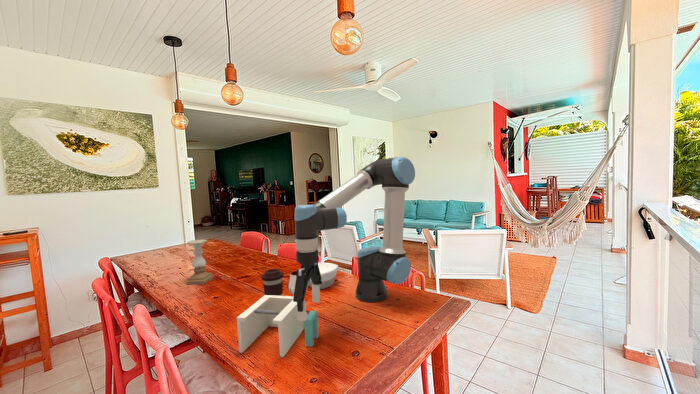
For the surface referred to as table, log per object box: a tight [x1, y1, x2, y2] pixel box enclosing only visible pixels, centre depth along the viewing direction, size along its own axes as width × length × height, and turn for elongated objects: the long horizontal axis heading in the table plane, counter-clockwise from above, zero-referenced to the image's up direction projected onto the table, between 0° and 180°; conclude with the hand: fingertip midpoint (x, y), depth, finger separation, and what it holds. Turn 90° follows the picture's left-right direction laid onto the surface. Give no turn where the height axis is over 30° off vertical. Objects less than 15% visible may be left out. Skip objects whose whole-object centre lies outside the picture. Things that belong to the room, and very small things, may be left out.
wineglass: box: [287, 270, 309, 316], centre depth 116 cm, size 8×8×18 cm
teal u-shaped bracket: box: [304, 310, 319, 348], centre depth 97 cm, size 2×6×9 cm, turn 167°
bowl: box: [308, 261, 339, 290], centre depth 149 cm, size 18×18×9 cm
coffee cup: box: [261, 268, 284, 296], centre depth 129 cm, size 10×10×15 cm
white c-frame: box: [236, 294, 305, 358], centre depth 99 cm, size 16×18×12 cm
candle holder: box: [185, 238, 215, 286], centre depth 163 cm, size 11×11×24 cm
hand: (309, 310), depth 96 cm, fingers open, 13 cm apart
